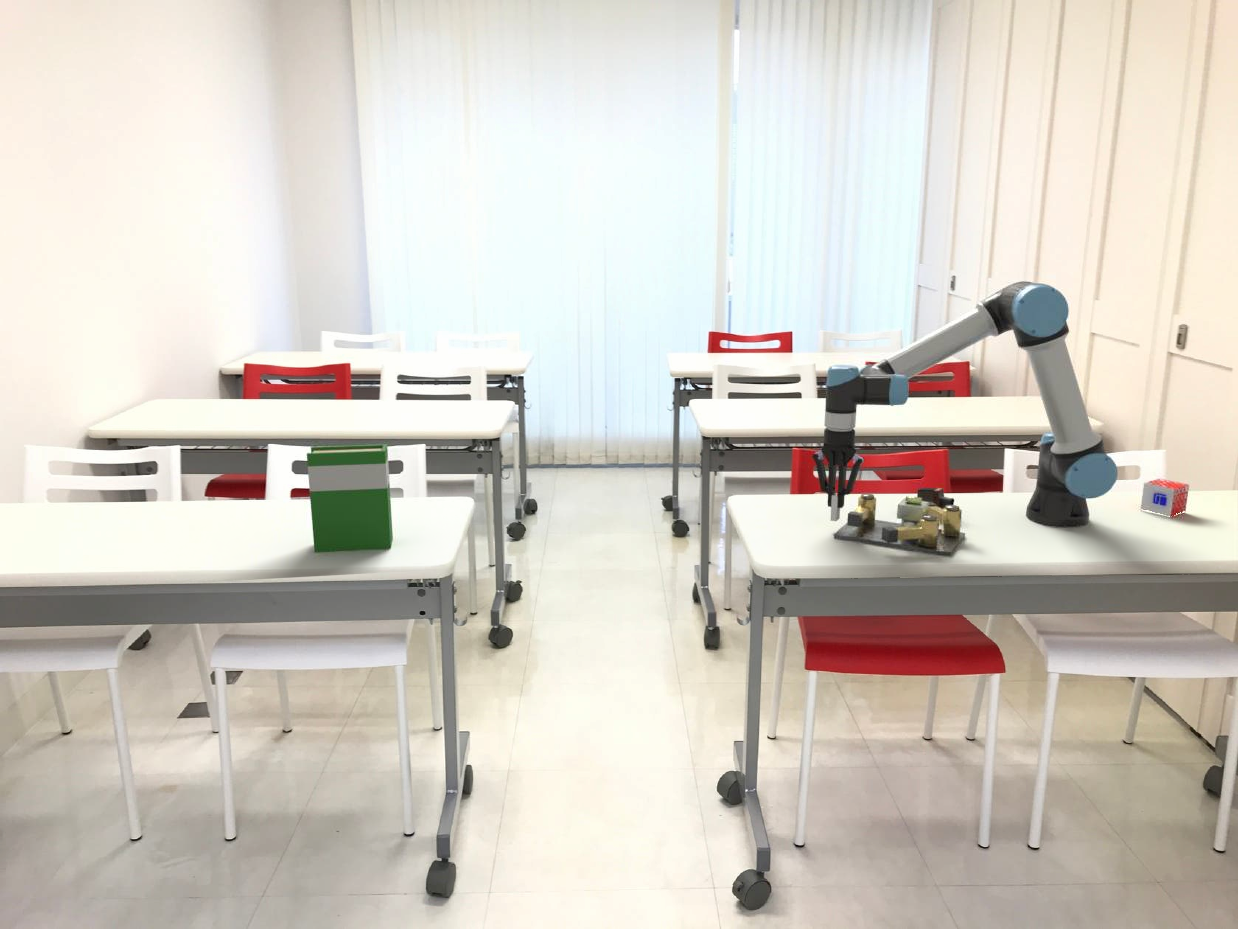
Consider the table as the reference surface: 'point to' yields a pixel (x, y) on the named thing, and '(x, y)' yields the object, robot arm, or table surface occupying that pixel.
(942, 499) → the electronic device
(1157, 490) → the red and white box
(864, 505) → the knob
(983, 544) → the table surface
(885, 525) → the valve board
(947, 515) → the knob
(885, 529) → the knob
